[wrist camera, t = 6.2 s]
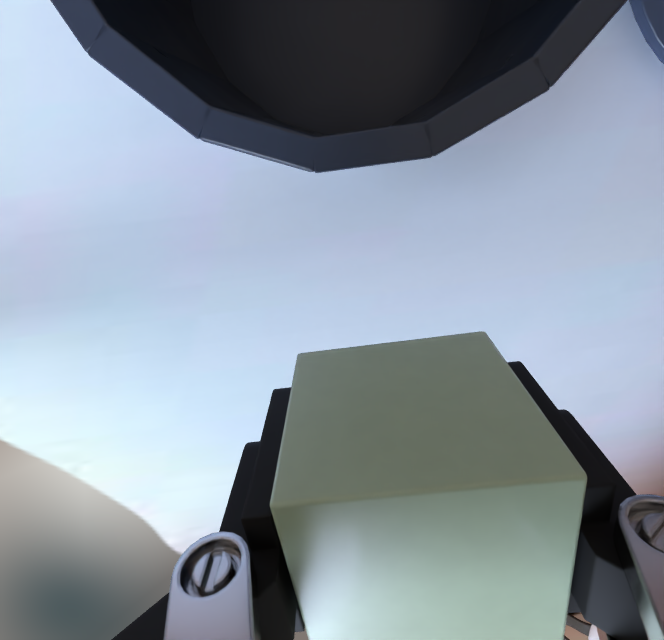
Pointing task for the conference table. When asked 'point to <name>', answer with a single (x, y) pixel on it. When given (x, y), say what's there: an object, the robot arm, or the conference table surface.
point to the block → (425, 496)
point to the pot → (336, 68)
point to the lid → (651, 23)
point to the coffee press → (582, 627)
